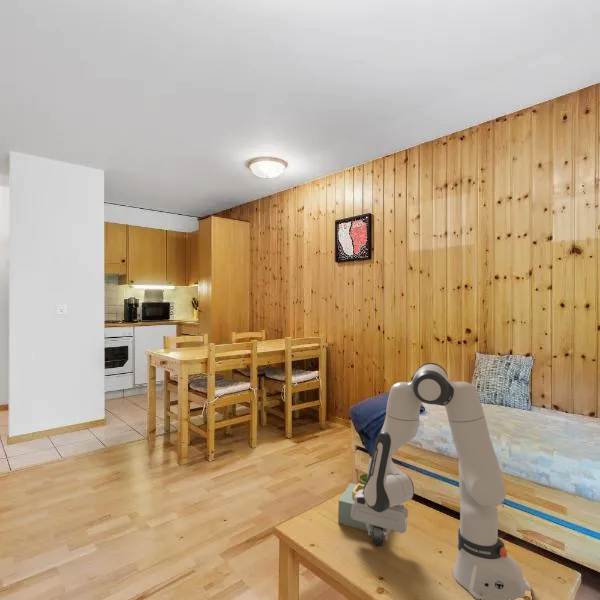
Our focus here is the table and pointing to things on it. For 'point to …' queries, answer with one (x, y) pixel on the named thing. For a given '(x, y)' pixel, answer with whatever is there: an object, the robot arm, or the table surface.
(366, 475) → the plant pot
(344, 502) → the box with square opening
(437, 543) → the table surface
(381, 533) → the cylinder
